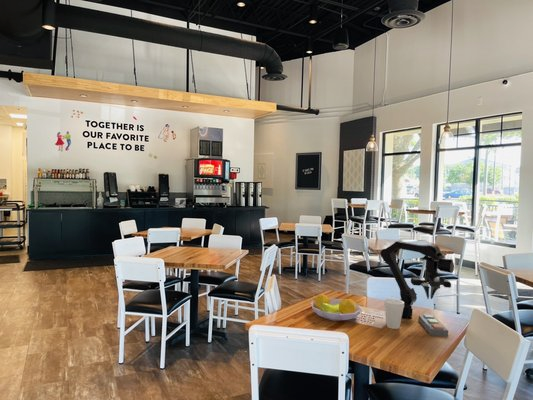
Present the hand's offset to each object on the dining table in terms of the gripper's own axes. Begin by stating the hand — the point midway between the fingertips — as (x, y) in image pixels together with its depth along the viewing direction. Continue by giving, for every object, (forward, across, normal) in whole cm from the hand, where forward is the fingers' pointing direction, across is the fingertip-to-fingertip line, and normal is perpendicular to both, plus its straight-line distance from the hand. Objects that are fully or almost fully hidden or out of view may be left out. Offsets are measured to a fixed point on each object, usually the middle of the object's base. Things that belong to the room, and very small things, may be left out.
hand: (429, 298), depth 199 cm
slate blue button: (+11, 0, 0) cm, 11 cm away
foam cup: (+13, -20, -9) cm, 26 cm away
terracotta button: (+11, 0, -14) cm, 18 cm away
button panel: (+13, 0, -7) cm, 15 cm away
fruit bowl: (+13, -49, -1) cm, 51 cm away
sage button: (+11, 0, -7) cm, 13 cm away
